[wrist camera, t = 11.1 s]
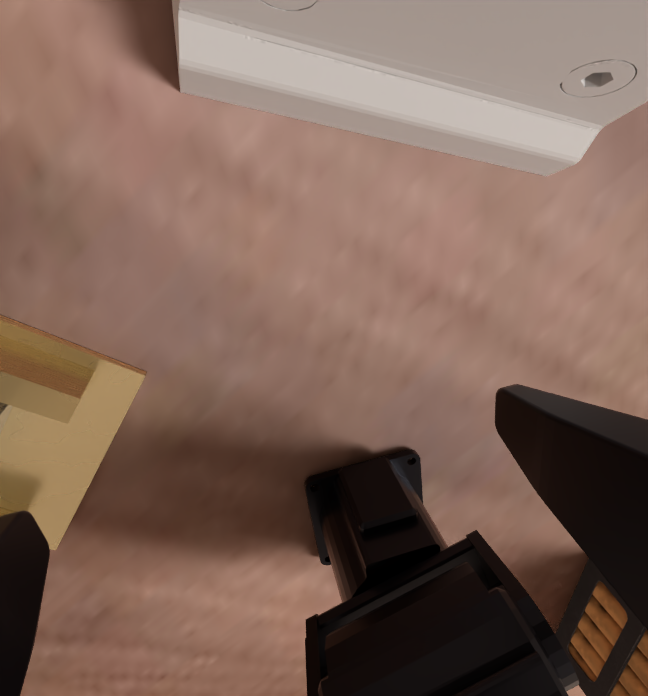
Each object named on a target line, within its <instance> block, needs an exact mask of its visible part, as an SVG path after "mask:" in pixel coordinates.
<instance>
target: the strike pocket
mask: <svg viewBox="0 0 648 696" xmlns="http://www.w3.org/2000/svg"><path fill="white" fill-rule="evenodd" d="M146 373H147V372H146V371H143V370H141V369H138V368H135V367H133V366H130V365H128V364H125V363H123V362H120V361H117V360H115V359H112V358H110V357H107V356H105V355H102V354H99V353H97V352H94V351H92V350H89V349H87V348H84V347H82V346H79V345H76V344H74V343H71V342H69V341H66V340H64V339H61V338H58V337H56V336H53V335H51V334H48V333H46V332H43V331H40V330H38V329H35V328H33V327H30V326H28V325H25V324H22V323H20V322H17V321H15V320H12V319H10V318H7V317H4V316H2V315H0V402H1V403H4V404H7V405H11V406H12V409H11V411H10V413H9V416H8V418H7V420H6V423H5V425H4V427H3V430H2V432H1V434H0V516H3V515H6V514H10V513H14V512H18V511H22V510H25V511H28V512H30V513H31V514H32V516H33V517H34V519H35V521H36V522H37V524H38V526H39V527H40V529H41V531H42V533H43V534H44V536H45V538H46V540H47V542H48V544H49V549H51V550H56V549H57V547H58V545H59V543H60V541H61V539H62V538H63V536H64V534H65V532H66V530H67V528H68V526H69V524H70V522H71V520H72V518H73V516H74V514H75V512H76V510H77V508H78V506H79V504H80V502H81V501H82V499H83V497H84V495H85V493H86V491H87V489H88V487H89V485H90V483H91V481H92V479H93V477H94V475H95V473H96V471H97V469H98V467H99V465H100V464H101V462H102V460H103V458H104V456H105V454H106V452H107V450H108V448H109V446H110V444H111V442H112V440H113V438H114V436H115V434H116V432H117V430H118V428H119V427H120V425H121V423H122V421H123V419H124V417H125V415H126V413H127V411H128V409H129V407H130V405H131V403H132V401H133V399H134V397H135V395H136V393H137V391H138V390H139V388H140V386H141V384H142V382H143V380H144V378H145V376H146Z"/></svg>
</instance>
